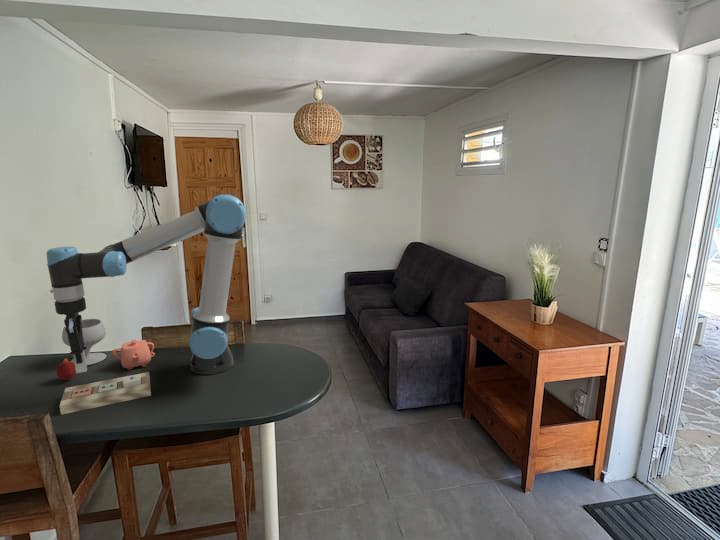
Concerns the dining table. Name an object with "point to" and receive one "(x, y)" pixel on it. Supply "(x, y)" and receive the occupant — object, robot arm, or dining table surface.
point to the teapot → (135, 354)
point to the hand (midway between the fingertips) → (81, 371)
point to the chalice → (89, 339)
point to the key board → (104, 395)
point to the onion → (66, 370)
